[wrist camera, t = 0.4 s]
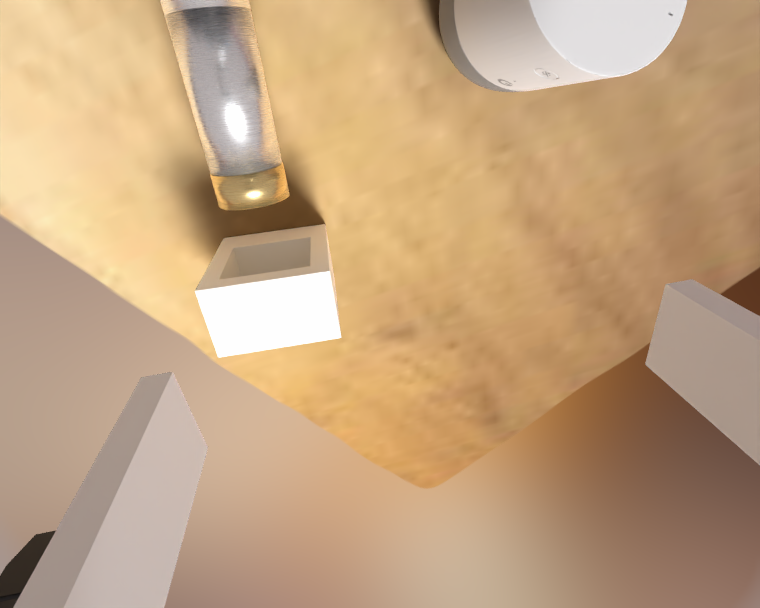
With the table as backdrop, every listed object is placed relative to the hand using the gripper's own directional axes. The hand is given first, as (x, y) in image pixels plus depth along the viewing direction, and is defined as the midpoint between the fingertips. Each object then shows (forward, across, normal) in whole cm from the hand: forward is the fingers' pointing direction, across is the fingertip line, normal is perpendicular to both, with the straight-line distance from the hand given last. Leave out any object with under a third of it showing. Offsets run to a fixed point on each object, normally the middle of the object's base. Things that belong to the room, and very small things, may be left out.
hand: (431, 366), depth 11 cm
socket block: (+24, -7, -6) cm, 26 cm away
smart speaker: (+25, +11, +9) cm, 29 cm away
